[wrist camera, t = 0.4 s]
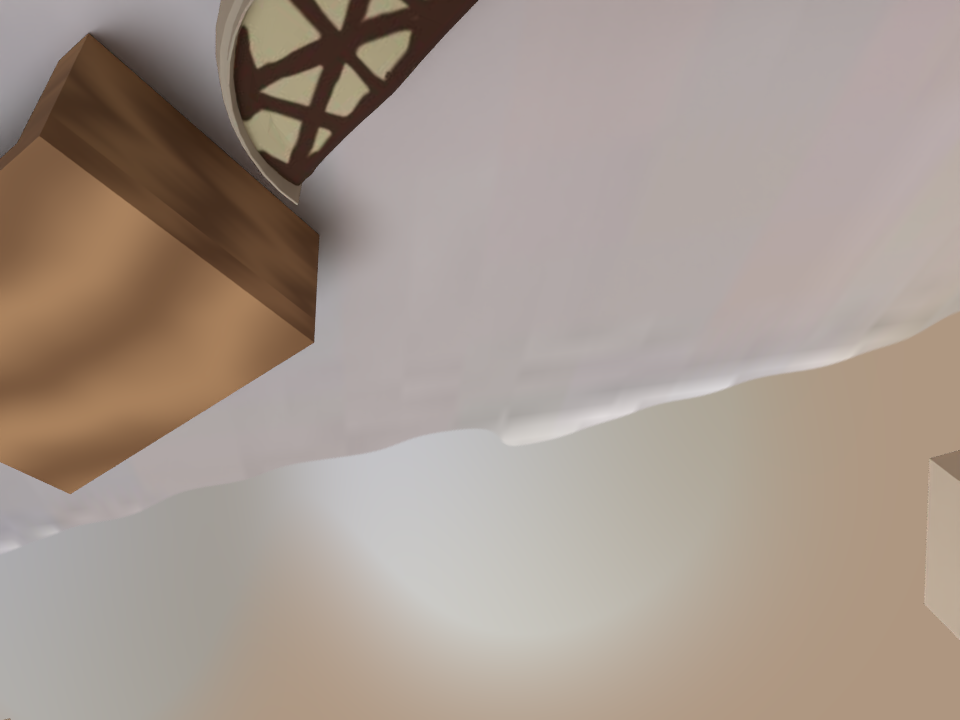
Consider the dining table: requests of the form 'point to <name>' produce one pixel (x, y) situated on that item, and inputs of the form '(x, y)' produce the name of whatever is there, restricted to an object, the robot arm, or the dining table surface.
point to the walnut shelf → (133, 274)
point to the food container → (317, 71)
